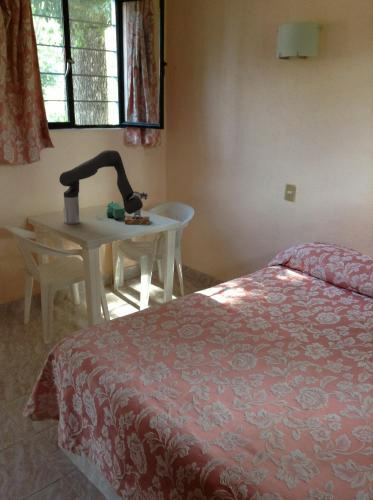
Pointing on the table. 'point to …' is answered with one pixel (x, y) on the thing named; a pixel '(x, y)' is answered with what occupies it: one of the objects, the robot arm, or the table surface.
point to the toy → (115, 210)
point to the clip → (137, 214)
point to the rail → (137, 220)
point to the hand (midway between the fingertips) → (136, 193)
